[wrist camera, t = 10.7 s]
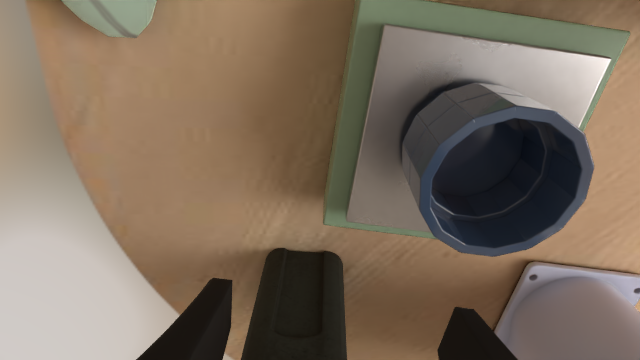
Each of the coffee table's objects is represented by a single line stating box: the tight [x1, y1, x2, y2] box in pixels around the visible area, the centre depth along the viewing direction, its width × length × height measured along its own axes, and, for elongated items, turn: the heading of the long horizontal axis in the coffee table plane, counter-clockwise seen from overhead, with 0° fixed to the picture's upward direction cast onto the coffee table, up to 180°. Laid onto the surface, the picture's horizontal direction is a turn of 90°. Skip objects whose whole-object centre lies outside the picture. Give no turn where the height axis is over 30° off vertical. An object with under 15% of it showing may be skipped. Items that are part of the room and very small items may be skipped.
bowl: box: [402, 83, 594, 257], centre depth 14 cm, size 6×6×4 cm
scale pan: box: [345, 23, 611, 232], centre depth 16 cm, size 9×9×1 cm
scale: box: [323, 0, 630, 250], centre depth 18 cm, size 11×12×3 cm
